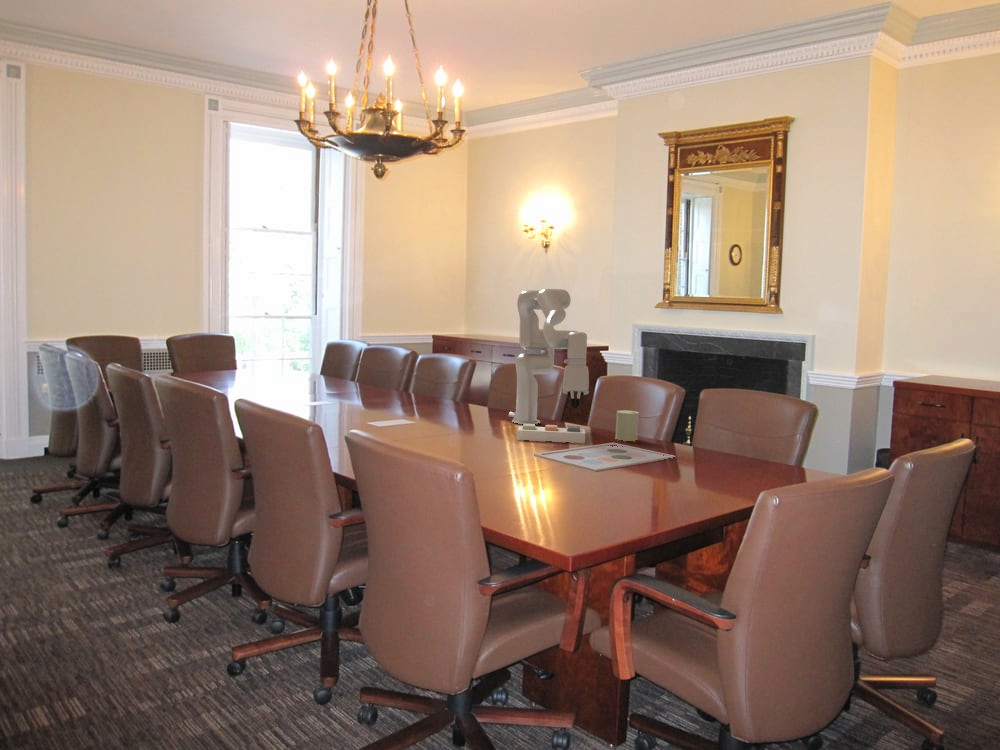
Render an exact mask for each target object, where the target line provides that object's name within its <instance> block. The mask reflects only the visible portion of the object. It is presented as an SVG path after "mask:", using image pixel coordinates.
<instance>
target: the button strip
mask: <svg viewBox="0 0 1000 750" xmlns="http://www.w3.org/2000/svg"><path fill="white" fill-rule="evenodd" d="M516 432H517V433H516V440H517V441H524V440H529V441H530V442H545V441H552V443H566V442H570V443H572V444H586V430H585V428H580V432H569V431H568V427H557V431H547V430H545V426H535V430H526V429H523V425H518V428H517V431H516ZM529 441H528V442H529Z"/></svg>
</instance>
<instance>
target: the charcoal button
mask: <svg viewBox="0 0 1000 750" xmlns="http://www.w3.org/2000/svg"><path fill="white" fill-rule="evenodd" d="M580 427H581V426H579V425H567V428H568V431H569V432H580V429H581V428H580Z"/></svg>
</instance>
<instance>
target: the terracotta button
mask: <svg viewBox="0 0 1000 750" xmlns="http://www.w3.org/2000/svg"><path fill="white" fill-rule="evenodd" d="M544 427H545V430H547V431H557V428H558V424H556V425H555V424H545V426H544Z"/></svg>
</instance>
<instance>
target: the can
mask: <svg viewBox="0 0 1000 750" xmlns="http://www.w3.org/2000/svg"><path fill="white" fill-rule="evenodd" d="M639 415H640V412H639V411H635V410H626V409H623V410H622V409H621V410H616V421H615V422H616V424H615V437H614V439H615V440H616V439H618V440H617V441H619V440H623V441H622V442H626V441H633V442H636V441H635V440H637V441H639V440H638V435H639V434H638V433H639V431H638V430H639Z"/></svg>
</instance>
